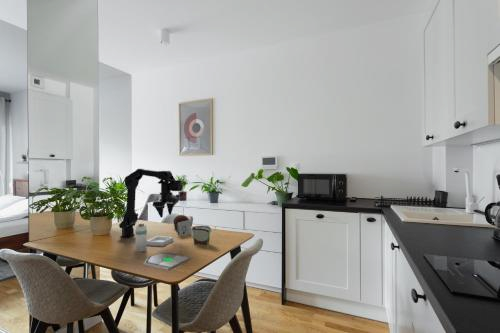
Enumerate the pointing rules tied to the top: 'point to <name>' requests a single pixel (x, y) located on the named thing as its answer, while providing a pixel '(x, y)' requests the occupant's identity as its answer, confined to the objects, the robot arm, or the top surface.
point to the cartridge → (141, 237)
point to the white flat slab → (165, 260)
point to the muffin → (179, 220)
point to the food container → (201, 235)
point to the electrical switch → (184, 228)
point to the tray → (159, 241)
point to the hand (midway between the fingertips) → (165, 215)
